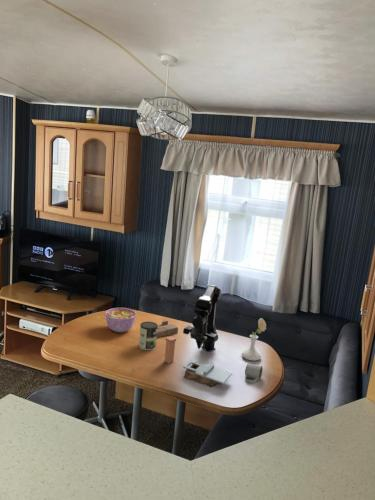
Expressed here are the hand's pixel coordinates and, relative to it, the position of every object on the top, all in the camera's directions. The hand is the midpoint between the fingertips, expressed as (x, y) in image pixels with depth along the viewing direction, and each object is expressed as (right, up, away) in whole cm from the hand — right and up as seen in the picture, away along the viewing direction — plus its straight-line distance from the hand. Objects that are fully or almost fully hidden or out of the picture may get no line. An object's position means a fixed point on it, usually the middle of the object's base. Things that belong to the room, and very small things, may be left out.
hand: (199, 348), depth 214 cm
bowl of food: (-50, +1, +44) cm, 67 cm away
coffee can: (-30, -5, +25) cm, 40 cm away
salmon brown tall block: (-17, -10, +9) cm, 21 cm away
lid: (+4, -11, -6) cm, 13 cm away
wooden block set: (-24, -1, +49) cm, 55 cm away
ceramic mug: (+29, -16, -1) cm, 33 cm away
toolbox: (+2, -14, -4) cm, 15 cm away
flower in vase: (+32, -11, +23) cm, 42 cm away
